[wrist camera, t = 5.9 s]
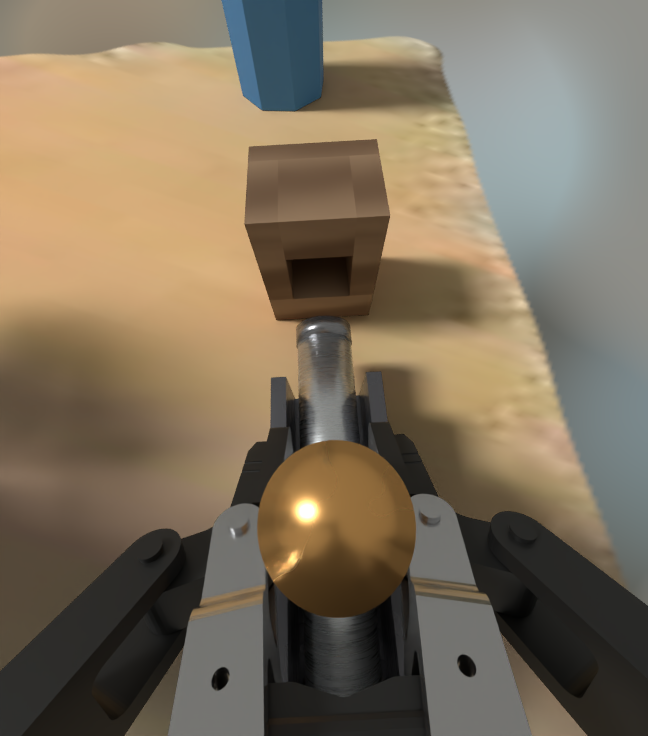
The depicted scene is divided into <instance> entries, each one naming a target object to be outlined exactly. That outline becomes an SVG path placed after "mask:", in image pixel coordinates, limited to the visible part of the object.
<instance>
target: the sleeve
mask: <svg viewBox="0 0 648 736" xmlns="http://www.w3.org/2000/svg"><path fill="white" fill-rule="evenodd" d="M356 403H357V414H358V424H359V435H360V445H363V446H365V447H367V448H368V426H369V423H372V422H388V421H387V413H386V405H385V398H384V390H383V382H382V375H381V372H366V375H365V378H364V381H363V385H362V388H361V391H360V394H359V395H358V396H356ZM277 427H290V429H291V437H292V446H293V453H295V452H296V451H298V450H300V432H299V399H295V398H294V395H293V393H292V390H291V388H290V385H289V383H288V381H287V378H286V377H275V378H271V428H277ZM276 599H277V619H278V639H279V656H280V666H281V675H282V682H296V683H299V684H302V685H305V658H304V613H303V608H301V607H299V606H297V605H296V604H295V603H293V602H292V601H291V600H289V599H288V598H287V597H286V596H285V595H284V594H283V593H282V592H281V591H280V590H279V588H278V587H277V586H276ZM376 616H377V627H378V637H379V648H380V659H381V669H382V680H383V681H385V680H387V679H389V678H392V677H394V676H404V643H403V627H402V612H401V597H400V585H399V586H398V587H397V588H396V590H395V591H394V592H393V593H392V594H391V595H390V596H389V597H388V598H387V599H386V600H385V601H384V602H382V603H381V604H380V605H378V606H377V607H376Z"/></svg>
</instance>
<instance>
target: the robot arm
mask: <svg viewBox="0 0 648 736" xmlns="http://www.w3.org/2000/svg"><path fill="white" fill-rule="evenodd" d="M368 448H369V449H371V450H373V451H374V452H376V453H378V454H379V455H380V456H381V457H383V458H384V459H385V460H386V461H387V462H388V463H389V464H390V465H391V466H392V467H393V468H394V469H395V470H396V472H397V473H398V474H399V476H400V477H401V479H402V481H403V482H404V484H405V486H406V488H407V490H408V492H409V495H410V498H411V501H412V504H413V508H414V513H415V520H416V541H415V548H414V553H413V557H412V560H411V563H410V566H409V568H408V570H407V573H406V575H405V576H404V578H403V580H402V581H401V583H400V597H401V612H402V627H403V643H404V676H394V677H392V678H389V679H387V680H385V681H383V682H380V683H378V684H376V685H373V686H371V687H369V688H367V689H364V690H362V691H360V692H357V693H355V694H353V695H351V696H348V697H340V696H337V695H334V694H330V693H327V692H324V691H321V690H318V689H315V688H311V687H308V686H305V685H302V684H299V683H296V682H282V675H281V666H280V656H279V639H278V619H277V599H276V584H275V583H274V582H273V580H272V579H271V577H270V575H269V573H268V572H267V569H266V567H265V565H264V562H263V560H262V556H261V553H260V549H259V543H258V536H257V520H258V511H259V506H260V502H261V499H262V496H263V493H264V490H265V488H266V486H267V484H268V482H269V480H270V479H271V477H272V475H273V474H274V472H275V471H276V470H277V469H278V467H279V466H280V465H281V464H282V463H283V462H284V461H285V460H286V459H287V458H288V457H289V456H291V455H292V454H293V446H292V437H291V429H290V427H277V428H270V431H269V435H268V439H267V441H265V442H256V443H255V444H254V446H253V447H252V448H251V449H250V450H249V451H248V454H247V457H246V460H245V464H244V466H243V469H242V473H241V476H240V479H239V482H238V485H237V488H236V491H235V494H234V498H233V501H232V504H231V507H230V508H228V509H227V510H225V511H224V512H223V513H222V514H221V515H220V516H219V517H218V518H217V520H216V521H215V523H214V526H213V527H212V528H210V529H208V530H206V531H203V532H200V533H197V534H195V535H192V536H189V537H186V538H183V539H181V538H180V536H179V534H178V533H177V532H176V531H174V530H171V529H159V530H155V531H152V532H150V533H148V534H146V535H144V536H142V537H141V538H139V539H138V540H137V541H135V542H134V543H133V544H132V545H131V546H130V547H129V548H128V549H127V550H126V551H125V552H124V553H123V554H122V555H121V556H120V557H119V558H118V559H116V560H115V561H114V562H113V563H112V564H111V565H110V566H109V567H108V568H107V569H106V570H105V571H104V572H103V573H102V574H101V575H100V576H99V577H98V578H97V579H96V580H95V581H94V582H93V583H92V584H90V585H89V586H88V587H87V588H86V589H85V590H84V591H83V592H82V593H81V594H80V595H79V596H78V597H77V598H76V599H75V600H74V601H73V602H72V603H71V604H70V605H69V606H68V607H67V608H66V609H64V610H63V611H62V612H61V613H60V614H59V615H58V616H57V617H56V618H55V619H54V620H53V621H52V622H51V623H50V624H49V625H48V626H47V627H46V628H45V629H44V630H43V631H42V632H41V633H40V634H38V635H37V636H36V637H35V638H34V639H33V640H32V641H31V642H30V643H29V644H28V645H27V646H26V647H25V648H24V649H23V650H22V651H21V652H20V653H19V654H18V655H17V656H16V657H15V658H14V659H12V660H11V661H10V662H9V663H8V664H7V665H6V666H5V667H4V668H3V669H2V670H1V671H0V736H124V735H125V734H126V732H127V731H128V729H129V728H130V726H131V725H132V723H133V722H134V720H135V719H136V717H137V716H138V714H139V713H140V711H141V710H142V708H143V707H144V705H145V704H146V702H147V701H148V699H149V698H150V696H151V695H152V693H153V692H154V690H155V689H156V687H157V686H158V684H159V683H160V681H161V680H162V678H163V677H164V675H165V674H166V672H167V671H168V669H169V668H170V666H171V664H172V663H173V661H174V660H175V658H176V657H177V655H178V654H179V652H180V651H181V649H182V648H183V646H184V649H183V655H182V660H181V666H180V671H179V677H178V682H177V687H176V693H175V698H174V704H173V709H172V715H171V720H170V726H169V731H168V736H532V734H531V731H530V728H529V724H528V721H527V718H526V715H525V711H524V708H523V705H522V702H521V698H520V695H519V692H518V689H517V685H516V682H515V679H514V676H513V673H512V669H511V666H510V663H509V660H508V656H507V653H506V650H505V647H504V643H503V640H502V637H501V634H500V632H501V633H502V635H503V636H504V637H505V638H506V639H507V640H508V642H509V643H510V644H511V645H512V646H513V648H514V649H515V650H516V651H517V652H518V654H519V655H520V656H521V657H522V658H523V659H524V661H525V662H526V663H527V664H528V665H529V667H530V668H531V669H532V670H533V671H534V673H535V674H536V675H537V676H538V677H539V678H540V680H541V681H542V682H543V683H544V684H545V686H546V687H547V688H548V689H549V690H550V692H551V693H552V694H553V695H554V696H555V698H556V699H557V700H558V701H559V702H560V703H561V705H562V706H563V707H564V708H565V709H566V711H567V712H568V713H569V714H570V715H571V717H572V718H573V719H574V720H575V721H576V722H577V724H578V725H579V726H580V727H581V728H582V730H583V731H584V732H585V733H586V734H587V736H648V606H647V605H646V604H645V603H643V602H642V601H640V600H639V599H638V598H637V597H635V596H634V595H633V594H631V593H630V592H629V591H628V590H626V589H625V588H624V587H622V586H621V585H620V584H618V583H617V582H616V581H614V580H613V579H612V578H611V577H609V576H608V575H607V574H605V573H604V572H603V571H601V570H600V569H599V568H597V567H596V566H595V565H594V564H592V563H591V562H590V561H588V560H587V559H586V558H584V557H583V556H582V555H580V554H579V553H578V552H576V551H575V550H574V549H573V548H571V547H570V546H569V545H567V544H566V543H565V542H563V541H562V540H561V539H559V538H558V537H557V536H556V535H554V534H553V533H552V532H550V531H549V530H548V529H546V528H545V527H544V526H542V525H541V524H540V523H538V522H537V521H535V520H534V519H532V518H530V517H528V516H526V515H524V514H521V513H517V512H511V511H504V512H500V513H498V514H496V515H495V516H494V517H493V518H492V520H491V523H490V522H486V521H481V520H477V519H472V518H468V517H465V516H462V515H459V514H457V513H455V511H454V510H453V508H452V507H451V506H450V505H449V504H448V503H447V502H446V501H444V500H443V499H441V498H439V497H438V495H437V493H436V490H435V488H434V486H433V484H432V482H431V480H430V477H429V475H428V473H427V471H426V469H425V467H424V465H423V463H422V460H421V458H420V456H419V455H418V452H417V449H416V447H415V445H414V443H413V442H412V441H411V440H410V439H409V438H408V437H406V436H405V435H404V434H397V435H394V434H393V431H392V429H391V426H390V424H389V422H372V423H369V426H368Z"/></svg>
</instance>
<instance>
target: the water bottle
mask: <svg viewBox="0 0 648 736" xmlns="http://www.w3.org/2000/svg"><path fill="white" fill-rule="evenodd" d="M222 4H223V9H224V13H225V18H226V22H227V26H228V31H229V35H230V40H231V44H232V49H233V53H234V58H235V62H236V66H237V71H238V75H239V80H240V84H241V89H242V93H243V96H244V97H246V98H247V99H248V100H249V101H251V102H252V103H253V104H255V105H256V106H257V107H258V108H260V109H261V110H270V111H296V110H298V109H300V108H302V107H304V106H306V105H308V104H309V103H311V102H313V101H315V100H317V99H319V98H321V93H322V86H323V79H324V76H323V22H322V0H222Z"/></svg>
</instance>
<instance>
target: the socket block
mask: <svg viewBox="0 0 648 736" xmlns="http://www.w3.org/2000/svg"><path fill="white" fill-rule="evenodd" d="M389 219H390V212H389V206H388V200H387V195H386V189H385V183H384V178H383V172H382V166H381V161H380V155H379V149H378V144H377V139H373V140H356V141H339V142H322V143H304V144H287V145H270V146H253V147H249V155H248V172H247V190H246V207H245V227H246V230H247V233H248V236H249V239H250V242H251V245H252V248H253V251H254V254H255V257H256V260H257V263H258V266H259V269H260V272H261V275H262V278H263V281H264V284H265V287H266V290H267V294H268V297H269V300H270V303H271V306H272V309H273V312H274V315H275V318H276V320H286V319H303V318H311V317H316V316H335V317H339V316H356V315H369V311H370V306H371V301H372V297H373V292H374V288H375V283H376V279H377V274H378V269H379V265H380V260H381V256H382V251H383V246H384V242H385V237H386V233H387V228H388V223H389Z"/></svg>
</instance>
